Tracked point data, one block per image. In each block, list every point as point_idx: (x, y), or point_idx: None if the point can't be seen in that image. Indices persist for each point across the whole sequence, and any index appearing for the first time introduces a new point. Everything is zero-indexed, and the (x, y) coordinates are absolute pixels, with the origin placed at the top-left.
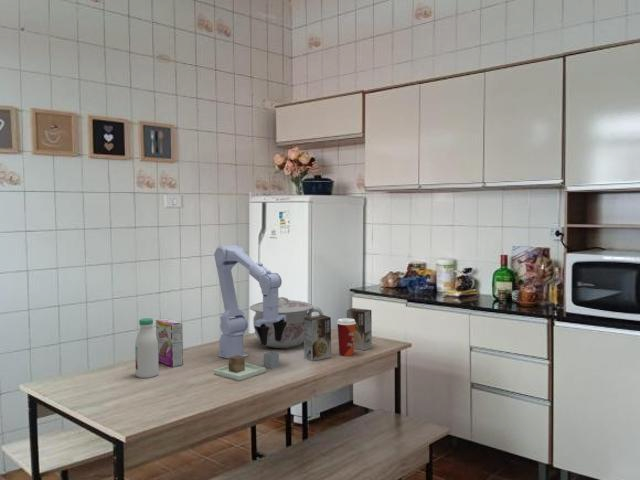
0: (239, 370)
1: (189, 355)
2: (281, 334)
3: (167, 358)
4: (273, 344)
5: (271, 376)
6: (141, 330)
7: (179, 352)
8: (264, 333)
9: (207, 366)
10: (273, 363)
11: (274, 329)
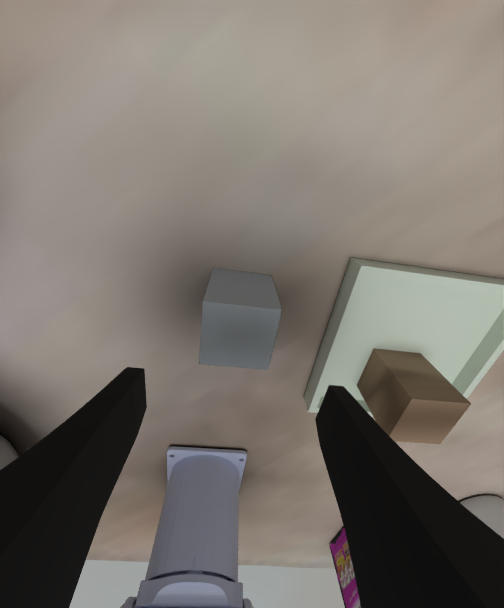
0: (407, 355)
1: (267, 537)
2: (87, 418)
3: None
4: (3, 452)
5: (412, 183)
6: None
7: None
8: (479, 523)
9: None
10: (257, 282)
11: (86, 551)
